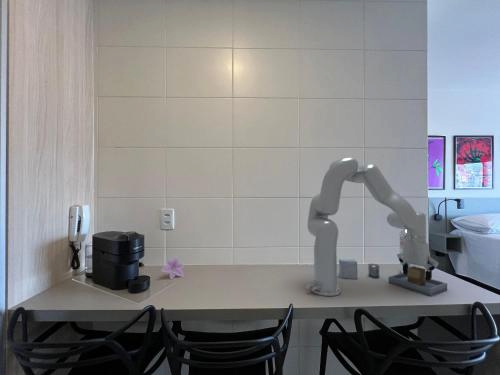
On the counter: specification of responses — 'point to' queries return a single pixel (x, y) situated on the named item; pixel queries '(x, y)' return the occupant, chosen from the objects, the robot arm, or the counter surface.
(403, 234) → the water bottle
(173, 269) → the lily
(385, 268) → the counter surface
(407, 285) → the tray
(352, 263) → the medicine box
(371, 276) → the metal cup
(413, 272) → the walnut block
